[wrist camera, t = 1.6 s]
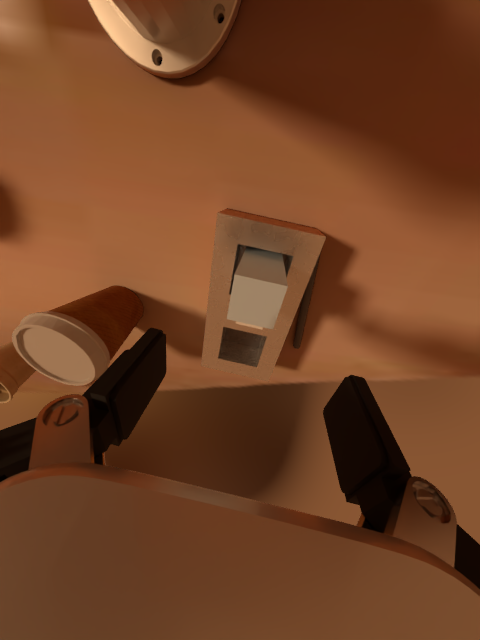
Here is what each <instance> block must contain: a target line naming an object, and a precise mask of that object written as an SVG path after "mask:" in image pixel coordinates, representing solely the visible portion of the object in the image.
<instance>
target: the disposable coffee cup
mask: <svg viewBox="0 0 480 640" xmlns="http://www.w3.org/2000/svg"><path fill="white" fill-rule="evenodd" d="M143 312H144V310H143V305H142V303H141V301H140V299H139V298H138V297H137V296H136V294H134V293H133V292H132V291H130V290H129V289H127V288H125V287H121V286H111V287H109V288H106V289H104V290H101V291H99V292H96V293H94V294H91V295H88V296H86V297H83V298H81V299H78V300H76V301H73V302H71V303H68V304H65V305H63V306H60V307H58V308H55V309H53V310H50V311H47V312H37V313H33V314H30V315H28V316H26V317H25V318H23V319H22V321H21V323H20V325H19V326H18V327H17V328H16V329H15V330H14V331H13V334H12V341H13V345H14V347H15V349H16V350H17V352H18V353H19V355H20V356H21V357H22V358H23V359H24V360H25V361H26V362H27V363H28V364H29V365H30V366H31V367H33V368H34V369H35V370H37V371H38V372H40V373H41V374H43V375H45V376H47V377H49V378H51V379H53V380H55V381H58V382H61V383H64V384H68V385H75V386H79V385H86V384H88V383H90V382H92V381H93V380H95V379H98V378H99V377H100V376H101V375H102V374H103V373H104V372H105V371H106V370H107V369H108V365H109V363H110V360H111V359H112V358H113V356H114V355H115V353H116V352H117V351H118V349H119V348H120V346H121V345H122V344H123V342H124V341H125V340H126V338H127V337H128V336H129V334H130V333H131V331H132V330H133V328H134V327H135V326H136V324H137V323H138V321H139V320H140V319H141V317H142V316H143Z"/></svg>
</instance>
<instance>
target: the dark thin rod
mask: <svg viewBox="0 0 480 640" xmlns="http://www.w3.org/2000/svg"><path fill="white" fill-rule="evenodd" d="M320 253H321V252H320ZM319 257H320V254H319ZM319 257H318V259H317V262H316V264H315V267H314V269H313V272H312V274H311V277H310V279H309V282H308V284H307V287H306V289H305V292H304V294H303V298H302V303H301V308H300V313H299V318H298V323H297V328H296V334H295V339H294V344H293V346H294V348H296V349H298V348H299V347H300V344H301V340H302V335H303V331H304V326H305V321H306V317H307V312H308V308H309V303H310V299H311V294H312V289H313V285H314V280H315V276H316V271H317V267H318V262H319Z"/></svg>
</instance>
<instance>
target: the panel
mask: <svg viewBox="0 0 480 640" xmlns="http://www.w3.org/2000/svg"><path fill="white" fill-rule="evenodd" d="M325 239H326V236H325V235H324V234H322V233H321V232H320V231H319V230H318V229H317V228H313V227H309V226H304V225H300V224H295V223H291V222H287V221H282V220H278V219H273V218H269V217H264V216H260V215H255V214H251V213H246V212H242V211H237V210H233V209H228V208H227V209H225V210H222V211H220V212H218V213H217V222H216V232H215V241H214V250H213V259H212V269H211V278H210V287H209V296H208V305H207V315H206V324H205V333H204V342H203V352H202V361H201V366H203V367H207V368H212V369H216V370H220V371H225V372H229V373H233V374H238V375H242V376H246V377H251V378H255V379H260V380H264V381H268V382H269V379H270V377H271V374H272V372H273V369H274V367H275V364H276V362H277V359H278V357H279V354H280V352H281V349H282V347H283V344H284V342H285V339H286V337H287V334H288V332H289V329H290V327H291V324H292V322H293V319H294V317H295V314H296V312H297V309H298V307H299V304H300V302H301V299H302V297H303V294H304V292H305V289H306V287H307V284H308V282H309V279H310V277H311V274H312V272H313V269H314V267H315V264H316V262H317V259H318V257H319V254H320V252H321V249H322V247H323V244H324V242H325ZM247 246H251V247H255V248H260V249H264V250H268V251H273V252H277V253H282V256H283V261H284V267H285V273H286V278H287V284H288V288H287V290H286V293H285V296H284V299H283V302H282V305H281V308H280V311H279V314H278V317H277V320H276V323H275V325H274V328H273V329H268V328H264V327H263V329H262V330H261V329H257V328H253V327H248V326H244V325H239V324H236V321H233V320H229V319H227V314H228V309H229V303H230V297H231V292H232V286H233V280H234V275H235V272H236V270H237V268H238V265H239V263H240V261H241V258H242V256H243V254H244V251H245V249H246V247H247Z"/></svg>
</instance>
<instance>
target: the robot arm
mask: <svg viewBox="0 0 480 640" xmlns="http://www.w3.org/2000/svg"><path fill="white" fill-rule="evenodd" d="M88 2H89V4H90V6H91V8H92V10H93V12H94V13H95V15H96V17H97V19H98V21H99V23H100V24H101V26H102V27H103V28H104V30H105V31H106V33H107V34H108V36H109V37H110V38H111V40H112V41H113V42H114V43H115V44H116V45H117V47H118V48H119V49H120V50H121V51H122V52H123V53H124V54H125V55H126V56H127V57H128V58H129V59H131V60H132V61H133V62H134V63H135V64H136V65H138V66H139V67H140V68H142V69H144V70H146V71H147V72H149V73H151V74H153V75H156V76H160V77H163V78H182V77H185V76H188V75H192V74H194V73H195V72H197V71H198V70H200V69H201V68H203V67H205V66H206V65H207V64H208V63H209V62H210V60H211V59H212V58H213V57H214V56H215V55H216V54H217V53H218V51H219V50H220V48H221V47H222V45H223V44H224V42H225V40H226V39H227V37H228V35H229V33H230V30H231V28H232V26H233V24H234V21H235V19H236V17H237V14H238V10H239V7H240V3H241V0H88ZM222 17H223V18H224V21H223V22H222V23H220V24H219V19H220V18H222ZM161 59H162V64H161V65H160V64H159V63H160V60H161ZM165 374H166V335H165V334H163V331H162V330H158V329H154V328H150V329H148V330H147V332H146V333H145V334H144V335H143V336H142V337H141V338H140V339H139V340H138V341H137V342H136V343H135V345H134V346H133V347H132V348H131V349H130V350H125V351H124V352H123V353H122V354H121V355H120V356H119V357H118V358H117V359H116V360H115V361H114V362H113V364H112V365H111V366H110V367H109V368H108V369H107V370H106V371H105V372H104V373H103V374H102V375H101V376H100V377H99V378H98V379H97V380H96V381H95V382H94V384H93V385H92V386H91V387H90V388H89V389H88V390H87V391H86V392H85V393H84V394H83V395H82V396H81V395H78V394H71V395H65V396H62V397H59V398H57V399H55V400H53V401H52V402H50V403H48V404H47V405H46V406H45V407H44V408H43V409H42V410H41V411H40V413H39V414H38V416H37V418H34V419H31V420H28V421H26V422H23V423H20V424H17V425H14V426H11V427H8V428H6V429H3V430H0V640H480V545H479V544H478V543H477V542H476V541H475V540H474V539H473V538H472V537H471V536H470V535H469V534H467V533H466V532H465V531H464V530H463V529H462V528H461V527H460V526H459V525H457V521H456V515H455V513H454V510H453V508H452V506H451V505H450V503H449V502H448V500H447V499H446V498H445V496H444V495H443V494H442V493H441V492H440V491H439V490H438V489H437V488H436V487H435V486H434V485H433V484H431V483H430V482H428V481H427V480H425V479H423V478H421V477H416V476H413V477H412V476H411V474H410V472H409V471H410V468H409V466H408V464H407V462H406V460H405V458H404V456H403V454H402V452H401V450H400V448H399V446H398V444H397V442H396V440H395V438H394V436H393V434H392V432H391V430H390V428H389V426H388V424H387V422H386V420H385V418H384V416H383V415H382V412H381V410H380V408H379V406H378V404H377V402H376V400H375V398H374V396H373V394H372V393H371V390H370V388H369V386H368V384H367V382H366V380H365V379H364V378H362V377H358V376H354V375H350V376H349V377H345V378H344V380H343V381H342V383H341V384H340V386H339V387H338V389H337V390H336V392H335V393H334V395H333V396H332V397H331V399H330V400H329V402H328V403H327V405H326V406H325V408H324V410H323V415H324V419H325V424H326V428H327V433H328V437H329V441H330V445H331V450H332V454H333V458H334V463H335V466H336V471H337V475H338V480H339V484H340V488H341V490H342V492H343V493H345V497H346V501H347V502H350V503H353V504H358V505H360V508H361V512H362V513H361V516H360V518H359V521H358V523H357V526H354V525H350V524H347V523H343V522H339V521H335V520H331V519H327V518H323V517H319V516H315V515H311V514H307V513H303V512H299V511H296V510H292V509H288V508H284V507H279V506H275V505H271V504H267V503H263V502H259V501H255V500H251V499H247V498H243V497H239V496H235V495H231V494H227V493H223V492H219V491H215V490H211V489H206V488H203V487H198V486H194V485H190V484H186V483H182V482H178V481H174V480H169V479H165V478H161V477H157V476H153V475H148V474H144V473H139V472H135V471H130V470H126V469H121V468H117V467H111V466H106V465H105V457H104V452H105V451H107V449H108V447H109V445H110V444H113V445H117V446H119V445H120V444H121V442H122V440H123V439H127V438H128V437H129V435H130V434H131V432H132V430H133V429H134V427H135V425H136V424H137V422H138V420H139V419H140V417H141V415H142V414H143V412H144V410H145V408H146V407H147V405H148V404H149V402H150V400H151V398H152V397H153V395H154V393H155V392H156V390H157V388H158V387H159V385H160V383H161V382H162V380H163V378H164V377H165Z"/></svg>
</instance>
